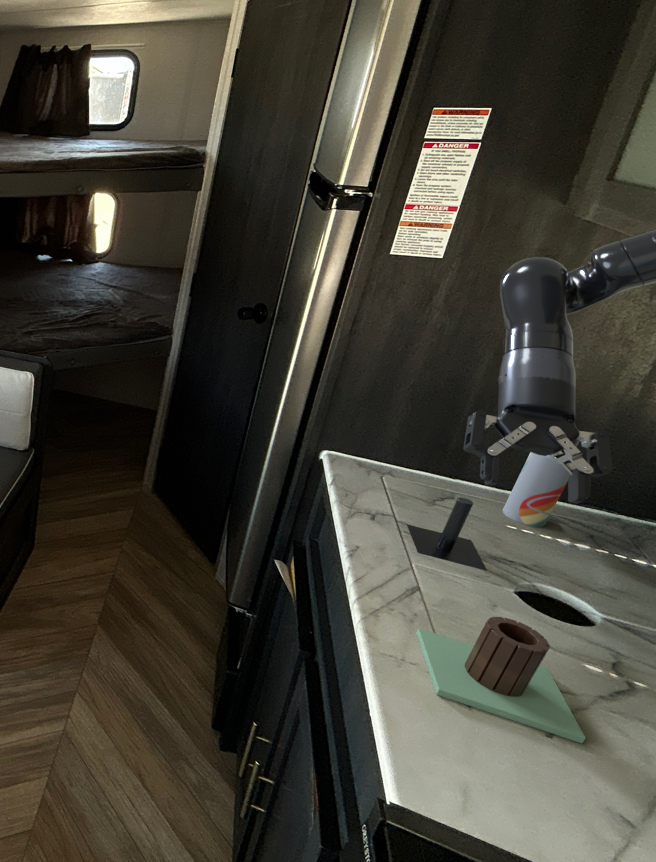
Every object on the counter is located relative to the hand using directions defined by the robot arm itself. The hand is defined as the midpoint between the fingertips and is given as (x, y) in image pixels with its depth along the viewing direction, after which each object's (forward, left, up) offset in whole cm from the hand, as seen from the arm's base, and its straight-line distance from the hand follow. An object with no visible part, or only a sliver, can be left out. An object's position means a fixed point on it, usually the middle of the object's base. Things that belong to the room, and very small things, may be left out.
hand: (533, 492), depth 86 cm
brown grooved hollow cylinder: (0, +12, -23) cm, 26 cm away
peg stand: (-1, -19, -24) cm, 30 cm away
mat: (0, +12, -24) cm, 27 cm away
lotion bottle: (-16, -37, -24) cm, 47 cm away
